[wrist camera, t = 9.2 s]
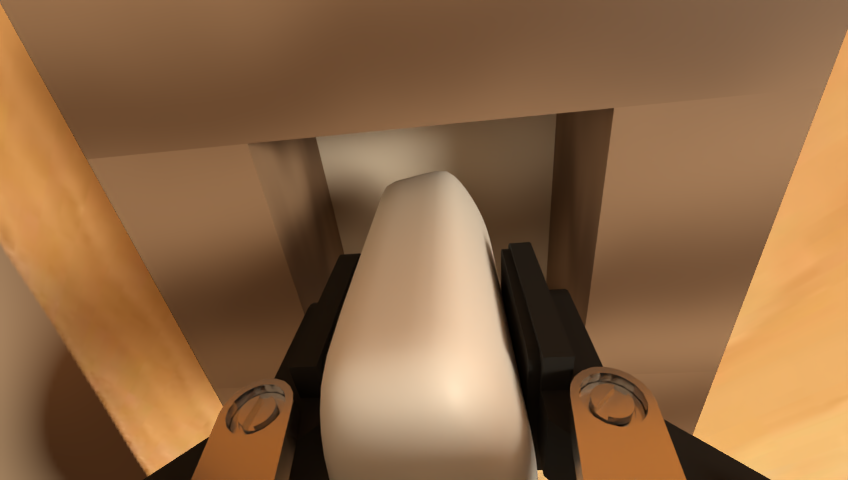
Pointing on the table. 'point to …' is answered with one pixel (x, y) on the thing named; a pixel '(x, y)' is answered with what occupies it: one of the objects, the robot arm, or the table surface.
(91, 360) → the table surface
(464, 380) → the eye dropper bottle
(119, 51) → the socket stand
